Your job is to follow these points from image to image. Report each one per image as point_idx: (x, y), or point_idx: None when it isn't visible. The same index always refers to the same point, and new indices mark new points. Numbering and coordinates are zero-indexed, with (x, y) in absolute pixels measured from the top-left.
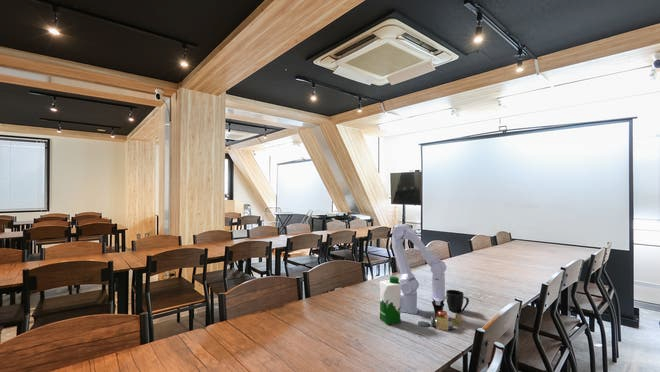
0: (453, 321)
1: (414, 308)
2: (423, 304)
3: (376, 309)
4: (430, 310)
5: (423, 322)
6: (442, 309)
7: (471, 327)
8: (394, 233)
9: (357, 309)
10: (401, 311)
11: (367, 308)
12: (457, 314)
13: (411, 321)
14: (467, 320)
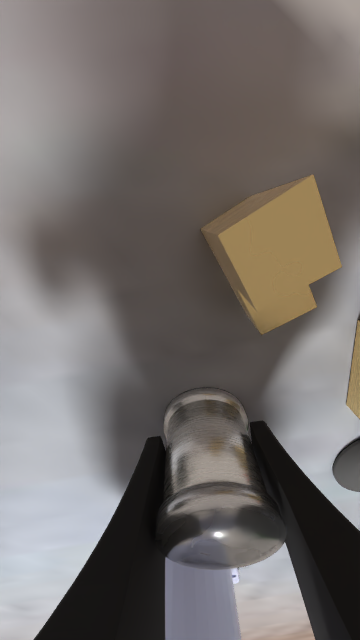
0: (307, 294)
1: (210, 571)
2: (13, 526)
3: (263, 611)
4: (84, 482)
5: (358, 472)
6: (247, 499)
7: (282, 19)
8: None
9: (300, 635)
10: (237, 568)
11: (271, 625)
12: (252, 278)
13: (354, 512)
14: (44, 143)
